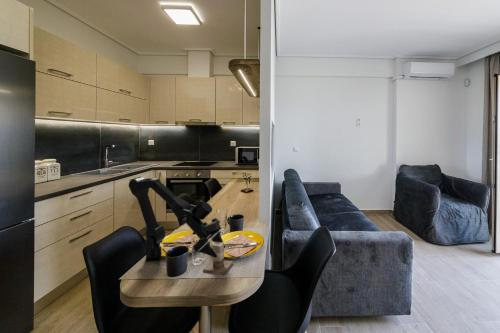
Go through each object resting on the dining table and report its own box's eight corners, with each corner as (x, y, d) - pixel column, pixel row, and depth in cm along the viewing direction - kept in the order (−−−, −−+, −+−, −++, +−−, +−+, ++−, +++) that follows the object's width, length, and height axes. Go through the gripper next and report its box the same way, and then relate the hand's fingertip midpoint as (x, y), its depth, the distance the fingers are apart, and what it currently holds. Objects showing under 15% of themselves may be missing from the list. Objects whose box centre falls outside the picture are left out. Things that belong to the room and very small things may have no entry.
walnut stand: (203, 271, 116) (202, 262, 116) (212, 260, 126) (212, 252, 125) (224, 274, 114) (224, 265, 113) (232, 263, 123) (232, 255, 123)
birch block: (212, 260, 118) (211, 245, 117) (215, 256, 122) (215, 241, 121) (220, 261, 117) (220, 246, 116) (224, 257, 121) (223, 242, 120)
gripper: (198, 221, 109) (224, 250, 107) (217, 208, 126) (239, 233, 125) (182, 238, 112) (207, 266, 110) (202, 223, 130) (224, 247, 128)
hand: (220, 252), depth 118 cm, fingers open, 9 cm apart
